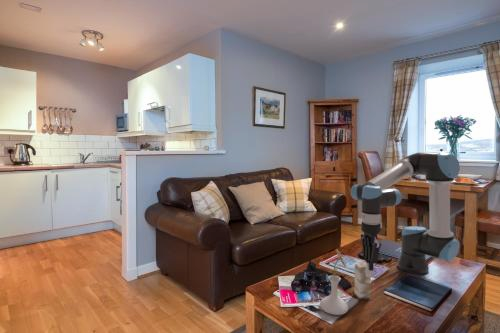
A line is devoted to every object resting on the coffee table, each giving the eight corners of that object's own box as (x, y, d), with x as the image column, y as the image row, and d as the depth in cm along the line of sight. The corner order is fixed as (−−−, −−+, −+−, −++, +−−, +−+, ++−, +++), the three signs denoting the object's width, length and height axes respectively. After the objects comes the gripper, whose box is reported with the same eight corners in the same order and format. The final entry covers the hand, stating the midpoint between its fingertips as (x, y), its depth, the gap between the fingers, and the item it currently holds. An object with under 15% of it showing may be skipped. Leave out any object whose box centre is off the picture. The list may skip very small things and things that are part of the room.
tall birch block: (364, 293, 133) (365, 262, 132) (370, 299, 128) (371, 266, 127) (354, 294, 132) (355, 262, 131) (359, 300, 127) (360, 267, 126)
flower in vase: (344, 321, 112) (345, 259, 110) (316, 312, 118) (316, 253, 116) (352, 305, 123) (353, 248, 121) (325, 297, 129) (326, 243, 127)
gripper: (355, 218, 128) (354, 270, 129) (370, 227, 115) (368, 284, 116) (371, 218, 128) (370, 269, 130) (388, 226, 115) (386, 283, 117)
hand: (369, 276), depth 123 cm, fingers closed
